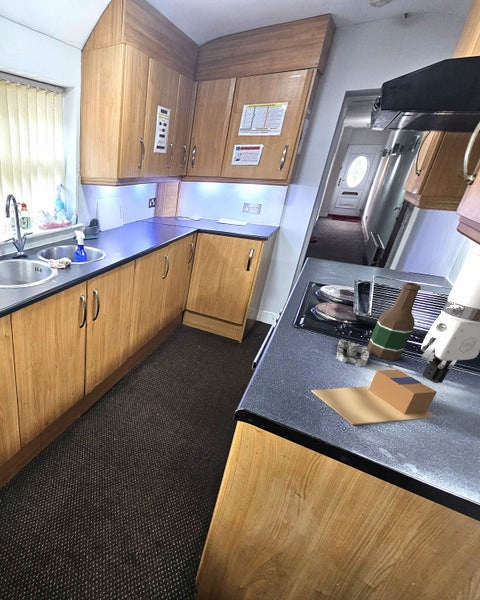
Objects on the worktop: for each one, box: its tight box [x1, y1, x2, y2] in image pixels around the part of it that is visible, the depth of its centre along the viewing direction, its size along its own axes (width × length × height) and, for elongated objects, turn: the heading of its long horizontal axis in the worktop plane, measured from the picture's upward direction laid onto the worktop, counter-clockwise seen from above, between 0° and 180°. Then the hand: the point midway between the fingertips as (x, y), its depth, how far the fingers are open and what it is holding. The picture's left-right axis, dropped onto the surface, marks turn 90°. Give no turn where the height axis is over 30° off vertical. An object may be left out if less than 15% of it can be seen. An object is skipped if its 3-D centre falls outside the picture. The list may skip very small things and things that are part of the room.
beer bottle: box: [366, 282, 422, 362], centre depth 96 cm, size 8×8×24 cm
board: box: [310, 386, 438, 426], centre depth 80 cm, size 22×12×1 cm, turn 97°
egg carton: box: [335, 338, 370, 368], centre depth 98 cm, size 11×8×4 cm
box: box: [368, 368, 438, 414], centre depth 80 cm, size 6×9×6 cm, turn 7°
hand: (431, 379), depth 80 cm, fingers closed
